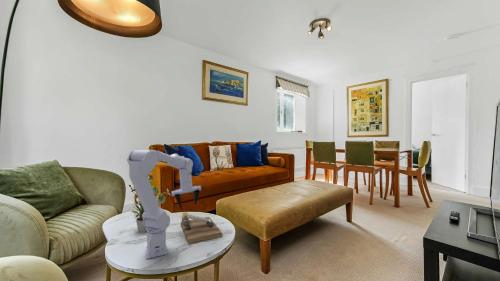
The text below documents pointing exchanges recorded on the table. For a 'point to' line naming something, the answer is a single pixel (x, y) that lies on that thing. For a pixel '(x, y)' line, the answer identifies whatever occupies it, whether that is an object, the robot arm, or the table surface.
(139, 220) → the house plant
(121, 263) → the table surface
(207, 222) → the clamp bar
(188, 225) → the walnut board
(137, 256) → the table surface
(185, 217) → the brass catch
